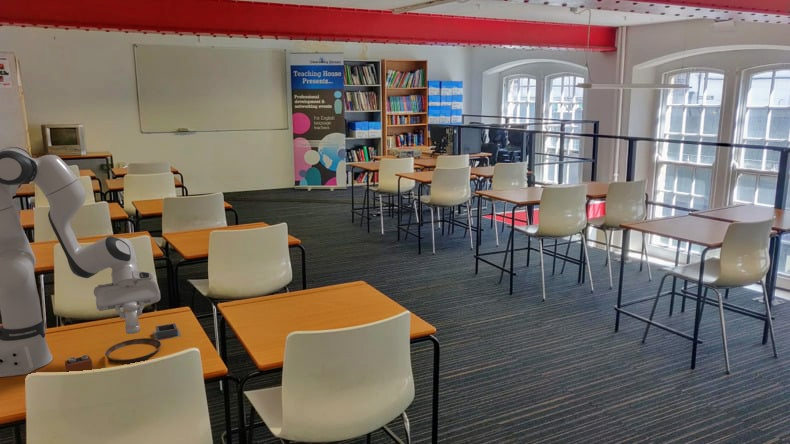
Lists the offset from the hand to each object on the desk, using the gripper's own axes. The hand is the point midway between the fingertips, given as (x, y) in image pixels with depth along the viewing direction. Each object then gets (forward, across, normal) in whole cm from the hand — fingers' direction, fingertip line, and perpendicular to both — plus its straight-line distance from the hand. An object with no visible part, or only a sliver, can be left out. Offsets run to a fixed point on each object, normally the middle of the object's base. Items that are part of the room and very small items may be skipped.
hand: (131, 316), depth 201 cm
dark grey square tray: (+1, +12, +19) cm, 22 cm away
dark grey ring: (+10, 0, +11) cm, 15 cm away
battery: (+22, -16, -2) cm, 28 cm away
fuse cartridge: (+4, 0, +4) cm, 6 cm away
